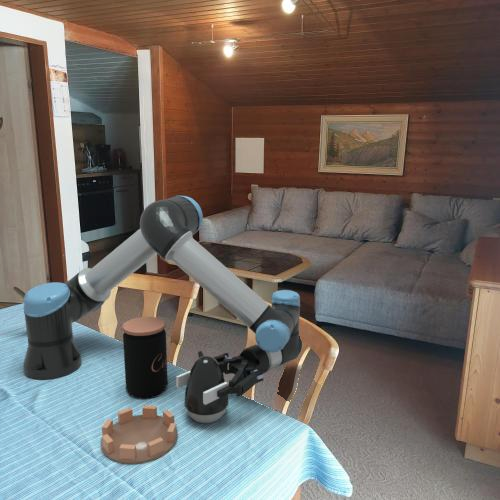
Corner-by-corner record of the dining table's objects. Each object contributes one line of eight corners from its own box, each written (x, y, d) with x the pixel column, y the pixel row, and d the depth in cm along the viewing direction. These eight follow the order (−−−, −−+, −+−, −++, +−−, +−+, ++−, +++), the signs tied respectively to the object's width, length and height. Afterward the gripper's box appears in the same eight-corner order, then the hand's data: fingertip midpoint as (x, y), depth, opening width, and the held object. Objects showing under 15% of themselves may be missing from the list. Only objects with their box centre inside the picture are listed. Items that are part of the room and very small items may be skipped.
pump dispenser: (220, 400, 113) (220, 344, 110) (234, 424, 104) (234, 362, 100) (180, 408, 109) (178, 350, 106) (190, 433, 100) (189, 370, 97)
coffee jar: (158, 402, 112) (155, 334, 108) (118, 397, 114) (114, 330, 110) (173, 381, 122) (171, 318, 118) (137, 377, 124) (133, 315, 121)
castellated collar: (89, 435, 99) (88, 422, 98) (155, 409, 109) (154, 397, 108) (120, 475, 87) (119, 460, 86) (191, 442, 97) (191, 428, 96)
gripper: (292, 387, 110) (222, 425, 95) (231, 358, 125) (163, 387, 110) (293, 359, 109) (222, 393, 93) (231, 332, 124) (161, 358, 108)
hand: (190, 390), depth 102 cm, fingers closed on pump dispenser, 9 cm apart
